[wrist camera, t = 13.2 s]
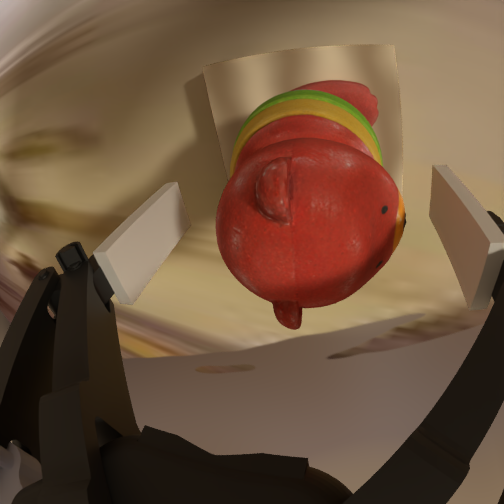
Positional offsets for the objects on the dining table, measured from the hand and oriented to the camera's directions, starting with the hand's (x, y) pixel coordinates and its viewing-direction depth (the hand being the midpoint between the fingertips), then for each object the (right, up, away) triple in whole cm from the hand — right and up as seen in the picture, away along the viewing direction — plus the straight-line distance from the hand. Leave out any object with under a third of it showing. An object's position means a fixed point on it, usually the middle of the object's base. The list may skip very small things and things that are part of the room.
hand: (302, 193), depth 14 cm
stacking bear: (+3, +6, +9) cm, 12 cm away
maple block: (+3, +9, +13) cm, 16 cm away
